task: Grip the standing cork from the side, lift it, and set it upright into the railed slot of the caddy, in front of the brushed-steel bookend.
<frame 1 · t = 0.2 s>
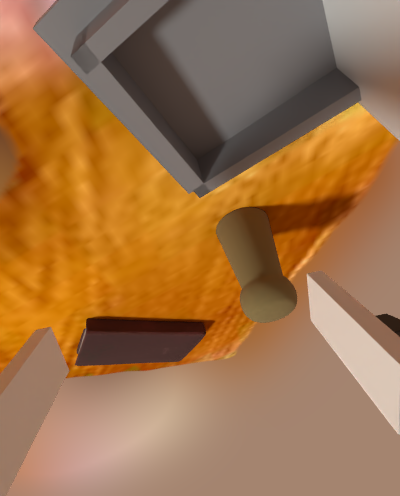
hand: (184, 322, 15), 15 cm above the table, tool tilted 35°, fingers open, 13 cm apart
caddy: (216, 56, 19), on the table
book: (139, 332, 52), on the table
cork: (241, 225, 33), on the table
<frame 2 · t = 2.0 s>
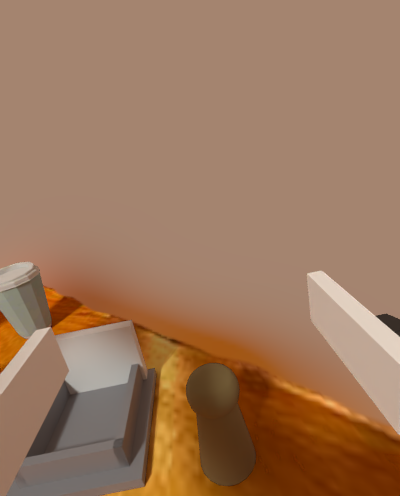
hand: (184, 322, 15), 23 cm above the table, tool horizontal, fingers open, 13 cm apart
disposable coffee cup: (36, 331, 66), on the table
caddy: (93, 434, 38), on the table
cork: (228, 456, 32), on the table
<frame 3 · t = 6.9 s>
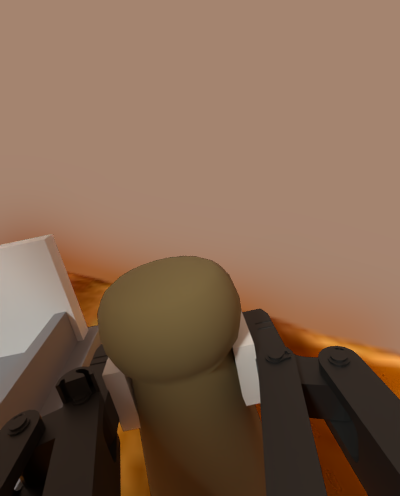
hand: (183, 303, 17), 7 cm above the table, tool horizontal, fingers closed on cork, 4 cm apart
cork: (215, 482, 14), on the table, touching gripper
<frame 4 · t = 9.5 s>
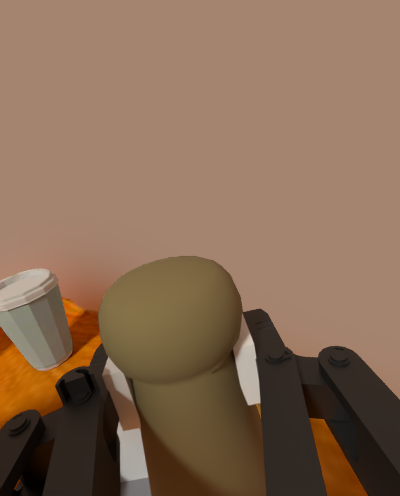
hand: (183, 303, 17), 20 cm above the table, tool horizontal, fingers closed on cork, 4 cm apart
disposable coffee cup: (52, 360, 50), on the table
cork: (216, 483, 14), point 13 cm above the table, touching gripper
when the fingers open (9 cm above the table, at t = 12.3 s): cork moves 2 cm, resting on caddy.
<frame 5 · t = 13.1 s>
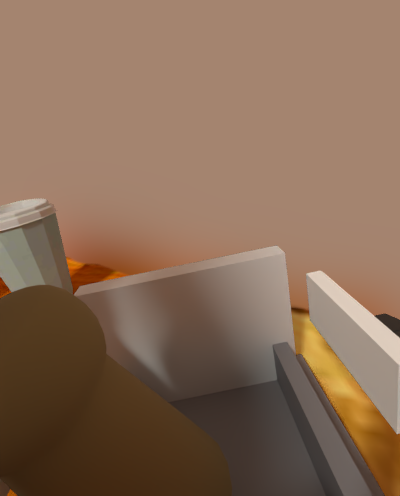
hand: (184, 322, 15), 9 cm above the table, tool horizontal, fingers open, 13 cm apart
disposable coffee cup: (49, 305, 43), on the table
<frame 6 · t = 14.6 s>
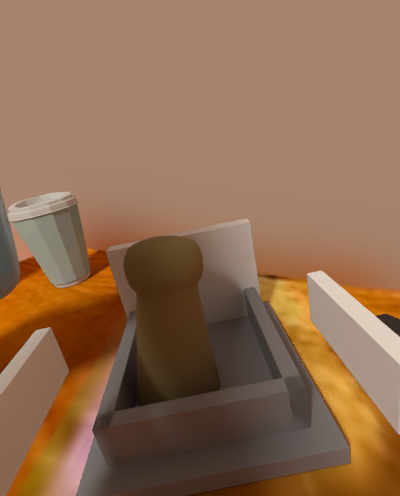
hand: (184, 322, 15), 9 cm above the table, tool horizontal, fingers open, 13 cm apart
disposable coffee cup: (71, 281, 52), on the table
caddy: (205, 385, 23), on the table
cork: (179, 388, 21), point 1 cm above the table, touching caddy
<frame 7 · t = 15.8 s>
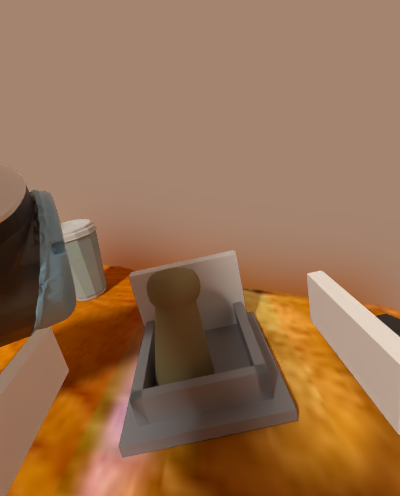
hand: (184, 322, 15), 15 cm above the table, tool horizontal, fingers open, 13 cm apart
disposable coffee cup: (90, 295, 61), on the table
caddy: (204, 375, 32), on the table
cork: (185, 376, 30), point 2 cm above the table, touching caddy
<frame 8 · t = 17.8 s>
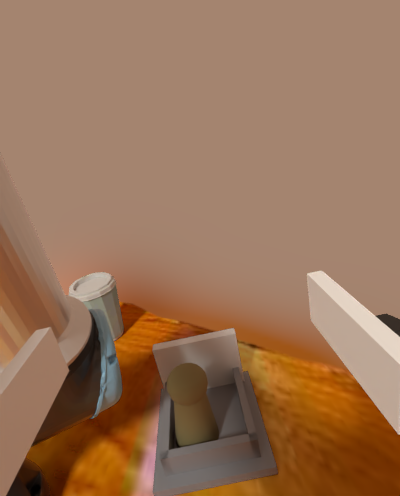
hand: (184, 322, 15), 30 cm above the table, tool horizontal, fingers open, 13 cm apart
disposable coffee cup: (109, 336, 71), on the table
caddy: (210, 430, 42), on the table
cork: (197, 435, 41), point 1 cm above the table, touching caddy
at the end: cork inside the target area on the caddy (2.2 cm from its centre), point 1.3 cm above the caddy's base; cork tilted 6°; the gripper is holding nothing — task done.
